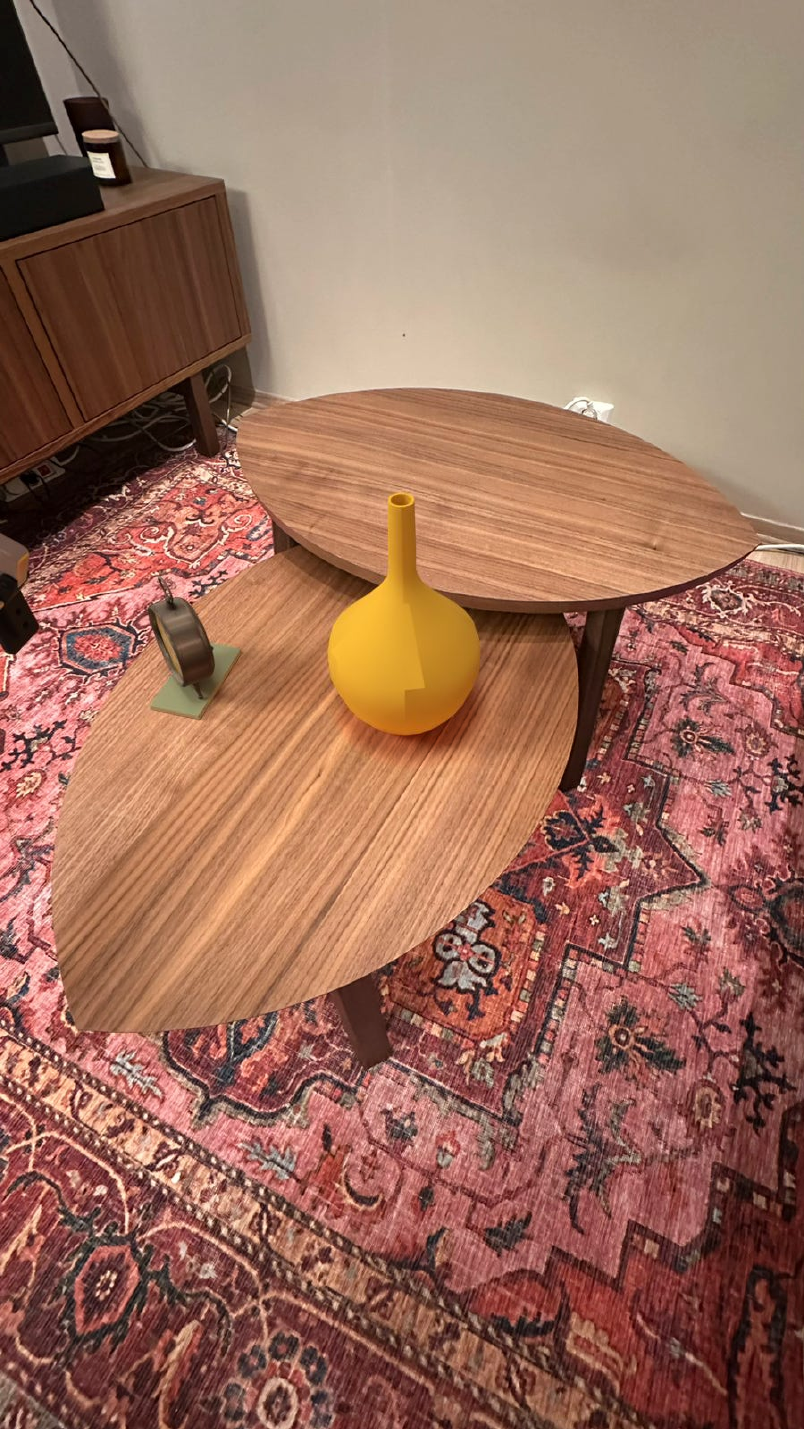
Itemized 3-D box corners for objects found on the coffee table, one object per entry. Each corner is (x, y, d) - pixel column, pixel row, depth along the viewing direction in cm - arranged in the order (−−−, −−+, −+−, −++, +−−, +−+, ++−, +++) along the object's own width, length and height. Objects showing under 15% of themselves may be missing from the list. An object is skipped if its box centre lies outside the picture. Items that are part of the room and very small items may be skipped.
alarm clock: (162, 660, 94) (124, 563, 82) (199, 645, 96) (167, 548, 84) (193, 709, 88) (157, 612, 76) (231, 692, 90) (202, 594, 78)
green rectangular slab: (199, 720, 88) (198, 716, 87) (151, 709, 89) (149, 705, 88) (242, 652, 96) (241, 648, 95) (197, 643, 97) (195, 639, 97)
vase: (306, 726, 87) (268, 521, 64) (380, 639, 97) (369, 437, 75) (434, 783, 81) (441, 579, 58) (498, 684, 91) (525, 479, 69)
